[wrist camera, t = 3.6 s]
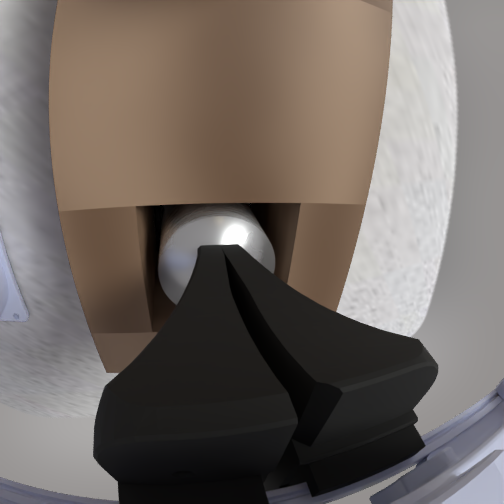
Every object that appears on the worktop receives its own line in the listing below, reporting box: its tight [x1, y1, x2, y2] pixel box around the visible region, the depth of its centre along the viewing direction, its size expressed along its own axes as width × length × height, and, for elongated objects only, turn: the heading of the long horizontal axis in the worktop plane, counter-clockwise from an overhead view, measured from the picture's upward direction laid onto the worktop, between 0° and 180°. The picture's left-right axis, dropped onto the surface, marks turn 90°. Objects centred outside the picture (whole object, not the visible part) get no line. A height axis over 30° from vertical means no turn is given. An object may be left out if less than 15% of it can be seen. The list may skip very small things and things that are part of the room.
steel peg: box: [158, 203, 275, 305], centre depth 12 cm, size 4×4×6 cm
